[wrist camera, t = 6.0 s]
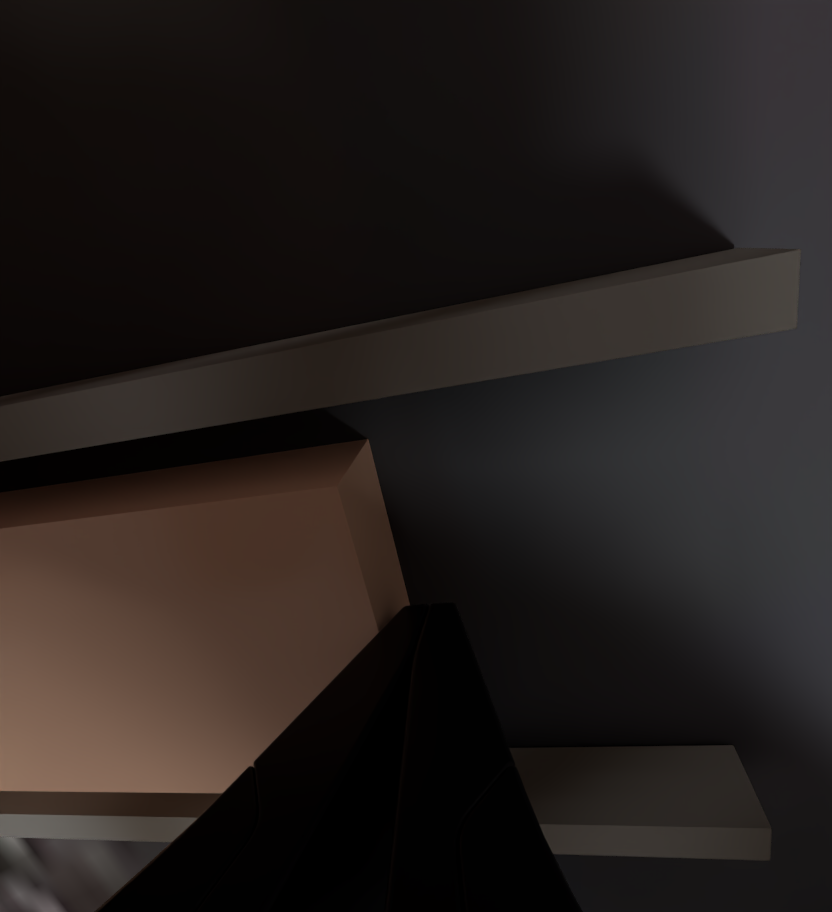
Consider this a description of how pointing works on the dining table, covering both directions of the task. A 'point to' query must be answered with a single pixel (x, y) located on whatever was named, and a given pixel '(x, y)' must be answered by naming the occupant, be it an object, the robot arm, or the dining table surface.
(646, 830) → the birch dock
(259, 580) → the terracotta tile
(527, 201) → the dining table surface
